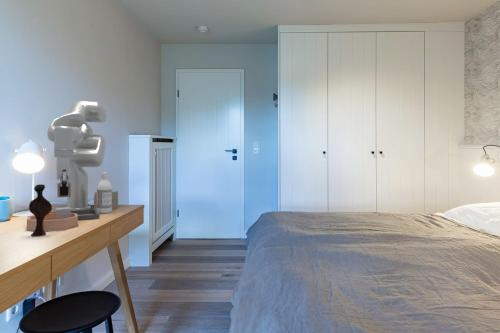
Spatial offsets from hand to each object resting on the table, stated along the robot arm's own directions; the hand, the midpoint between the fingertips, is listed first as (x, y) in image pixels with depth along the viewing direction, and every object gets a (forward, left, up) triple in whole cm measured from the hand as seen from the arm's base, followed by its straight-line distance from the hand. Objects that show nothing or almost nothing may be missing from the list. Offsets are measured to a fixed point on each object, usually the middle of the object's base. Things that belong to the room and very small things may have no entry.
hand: (63, 194), depth 145 cm
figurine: (+30, -8, -11) cm, 33 cm away
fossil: (-16, +20, -11) cm, 28 cm away
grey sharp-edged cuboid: (+15, -1, -10) cm, 18 cm away
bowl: (+17, -4, -11) cm, 20 cm away
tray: (+1, +4, -11) cm, 11 cm away
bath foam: (-8, +18, -11) cm, 23 cm away
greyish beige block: (0, 0, -1) cm, 1 cm away
